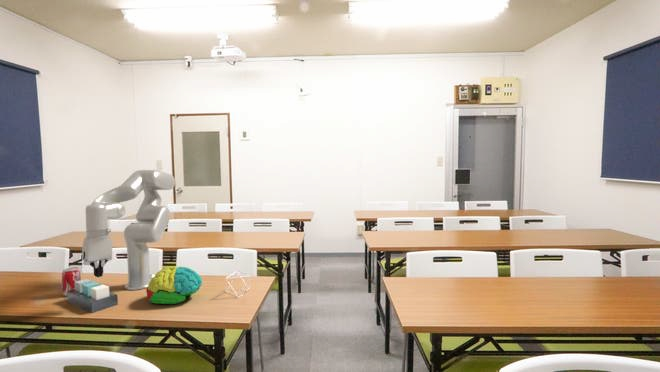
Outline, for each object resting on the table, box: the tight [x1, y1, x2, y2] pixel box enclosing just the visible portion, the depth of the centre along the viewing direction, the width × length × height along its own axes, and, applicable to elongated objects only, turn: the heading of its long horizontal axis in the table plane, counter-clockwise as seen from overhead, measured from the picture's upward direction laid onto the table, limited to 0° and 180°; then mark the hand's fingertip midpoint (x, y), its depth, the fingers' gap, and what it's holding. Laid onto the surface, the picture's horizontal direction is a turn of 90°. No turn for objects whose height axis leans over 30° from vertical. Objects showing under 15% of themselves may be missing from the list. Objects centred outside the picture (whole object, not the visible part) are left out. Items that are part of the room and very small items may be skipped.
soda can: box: [61, 267, 82, 297], centre depth 162 cm, size 7×7×12 cm
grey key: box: [75, 278, 93, 293], centre depth 155 cm, size 5×5×5 cm
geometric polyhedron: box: [225, 270, 251, 299], centre depth 162 cm, size 12×11×9 cm
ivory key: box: [90, 284, 110, 300], centre depth 147 cm, size 5×5×5 cm
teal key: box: [82, 281, 102, 297], centre depth 151 cm, size 5×5×5 cm
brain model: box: [145, 265, 203, 305], centre depth 155 cm, size 24×19×15 cm
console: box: [66, 289, 119, 314], centre depth 151 cm, size 10×23×5 cm, turn 58°
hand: (98, 276), depth 146 cm, fingers closed
